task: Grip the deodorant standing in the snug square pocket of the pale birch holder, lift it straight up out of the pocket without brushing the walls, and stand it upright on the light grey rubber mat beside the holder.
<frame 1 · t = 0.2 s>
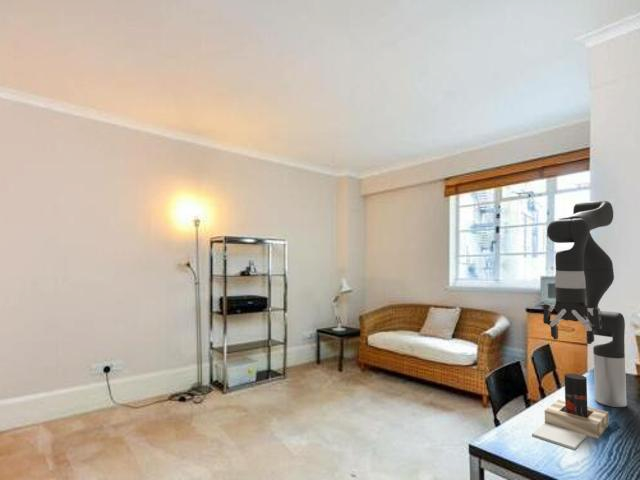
hand: (572, 341, 111), 29 cm above the table, tool pointing down, fingers open, 8 cm apart
mat: (559, 436, 112), on the table
holder: (576, 423, 121), on the table
deodorant: (576, 424, 121), resting in holder
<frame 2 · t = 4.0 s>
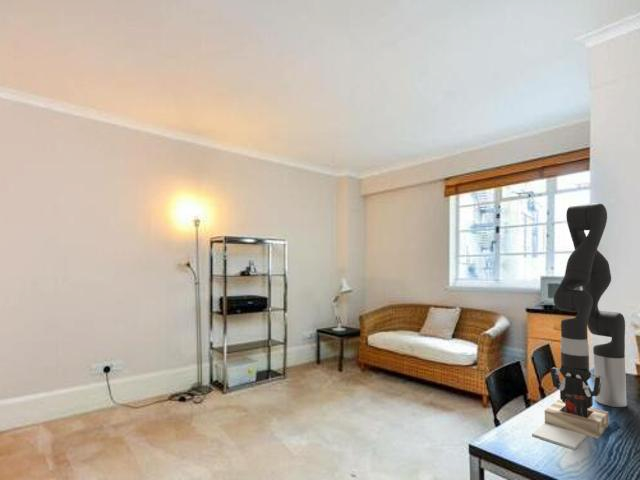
hand: (576, 404, 121), 6 cm above the table, tool pointing down, fingers closed on deodorant, 6 cm apart
deodorant: (576, 424, 121), resting in holder, touching gripper
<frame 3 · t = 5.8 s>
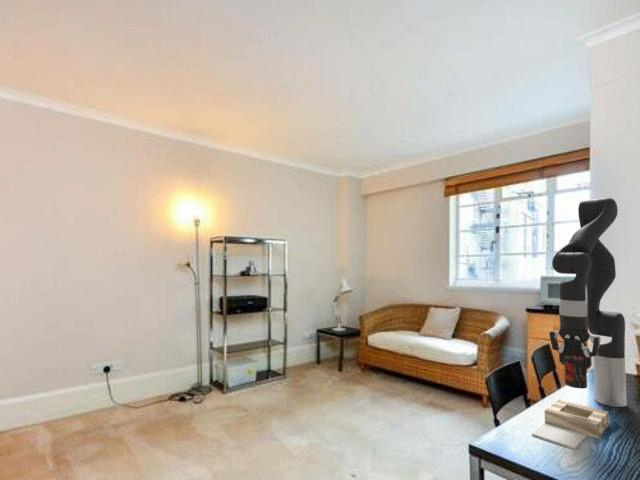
hand: (575, 366, 121), 18 cm above the table, tool pointing down, fingers closed on deodorant, 6 cm apart
deodorant: (575, 385, 121), point 12 cm above the table, touching gripper
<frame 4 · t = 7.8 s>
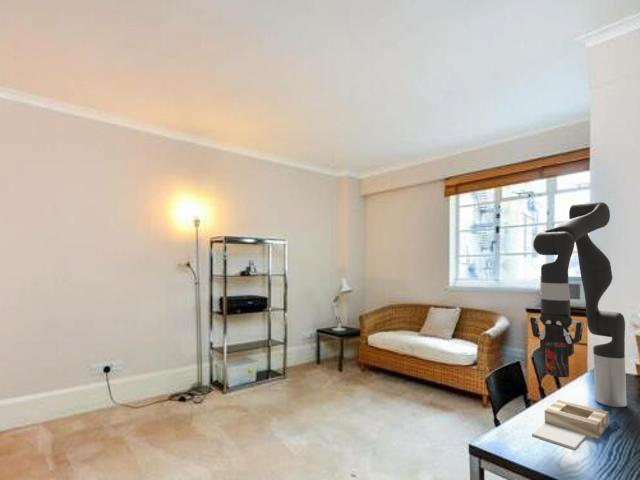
hand: (556, 353, 113), 24 cm above the table, tool pointing down, fingers closed on deodorant, 6 cm apart
deodorant: (557, 374, 113), point 18 cm above the table, touching gripper
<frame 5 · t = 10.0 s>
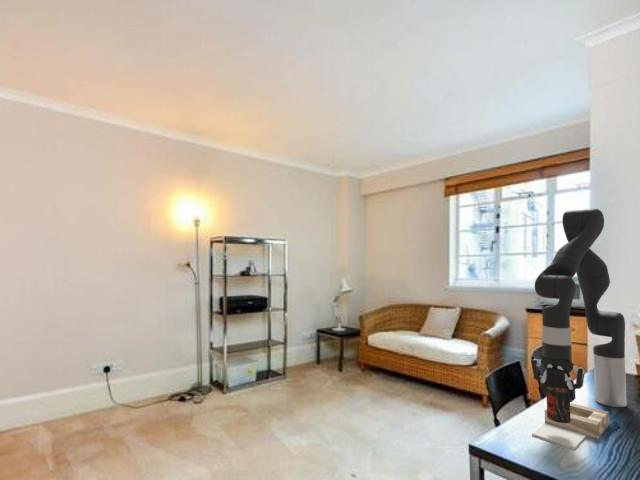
hand: (558, 398, 113), 11 cm above the table, tool pointing down, fingers closed on deodorant, 6 cm apart
deodorant: (558, 419, 112), point 5 cm above the table, touching gripper
when the fingers open (8 cm above the table, at t = 11.7 s): deodorant drops 2 cm, resting on mat.
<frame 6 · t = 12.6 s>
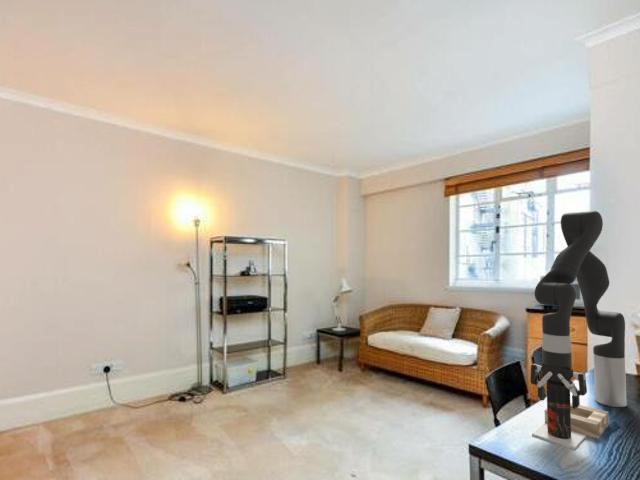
hand: (558, 403, 112), 10 cm above the table, tool pointing down, fingers open, 8 cm apart
deodorant: (559, 434, 112), resting on mat
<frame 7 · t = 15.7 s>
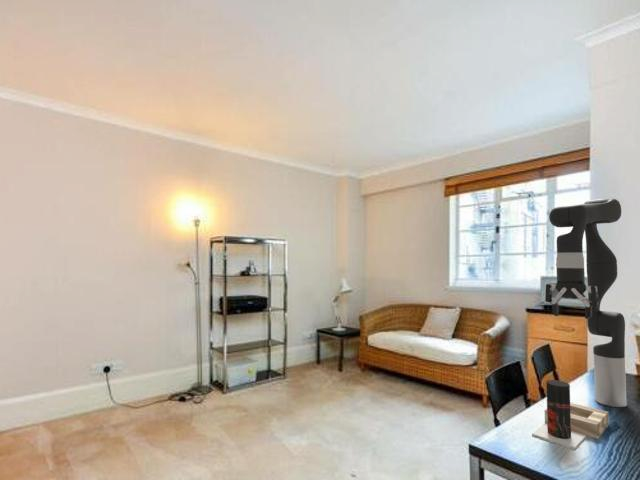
hand: (571, 317, 121), 34 cm above the table, tool pointing down, fingers open, 8 cm apart
nothing on the table moved.
at the end: deodorant inside the target area on the mat (0.1 cm from its centre), point 0.4 cm above the mat's base; deodorant tilted 0°; deodorant touching mat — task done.
